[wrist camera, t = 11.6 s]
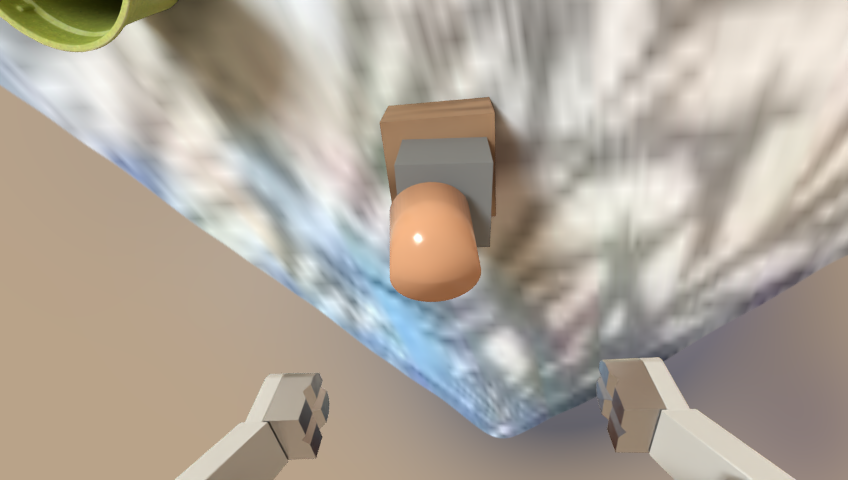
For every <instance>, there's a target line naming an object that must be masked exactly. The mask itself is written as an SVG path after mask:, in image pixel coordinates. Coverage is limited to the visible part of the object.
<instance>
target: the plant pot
mask: <svg viewBox="0 0 848 480" xmlns="http://www.w3.org/2000/svg"><path fill="white" fill-rule="evenodd" d="M177 1H178V0H0V17H1V18H3V19H4V20H5V21H7V22H8V23H9V24H10V25H11V26H13V27H14V28H16V29H17V30H19V31H20V32H21V33H23V34H25V35H26V36H28V37H30V38H32V39H34V40H36V41H37V42H40V43H41V44H43V45H46V46H49V47H52V48H55V49H59V50H63V51H70V52H86V51H91V50H95V49H98V48H101V47H103V46H105V45H107V44H108V43H110V42H111V41H113V40H114V39H115V38H116V37H117V36H118V35H119V33H120V32H121V31H122V29H123V28H124V27H125V26H126V25H128V24H130V23H132V22H135V21H137V20H140V19H142V18H145V17H147V16H150V15H153V14H156V13H159V12H161V11H164V10H167V9H169V8H171V7H172V6H173V5H174V4H175V3H176V2H177Z"/></svg>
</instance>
